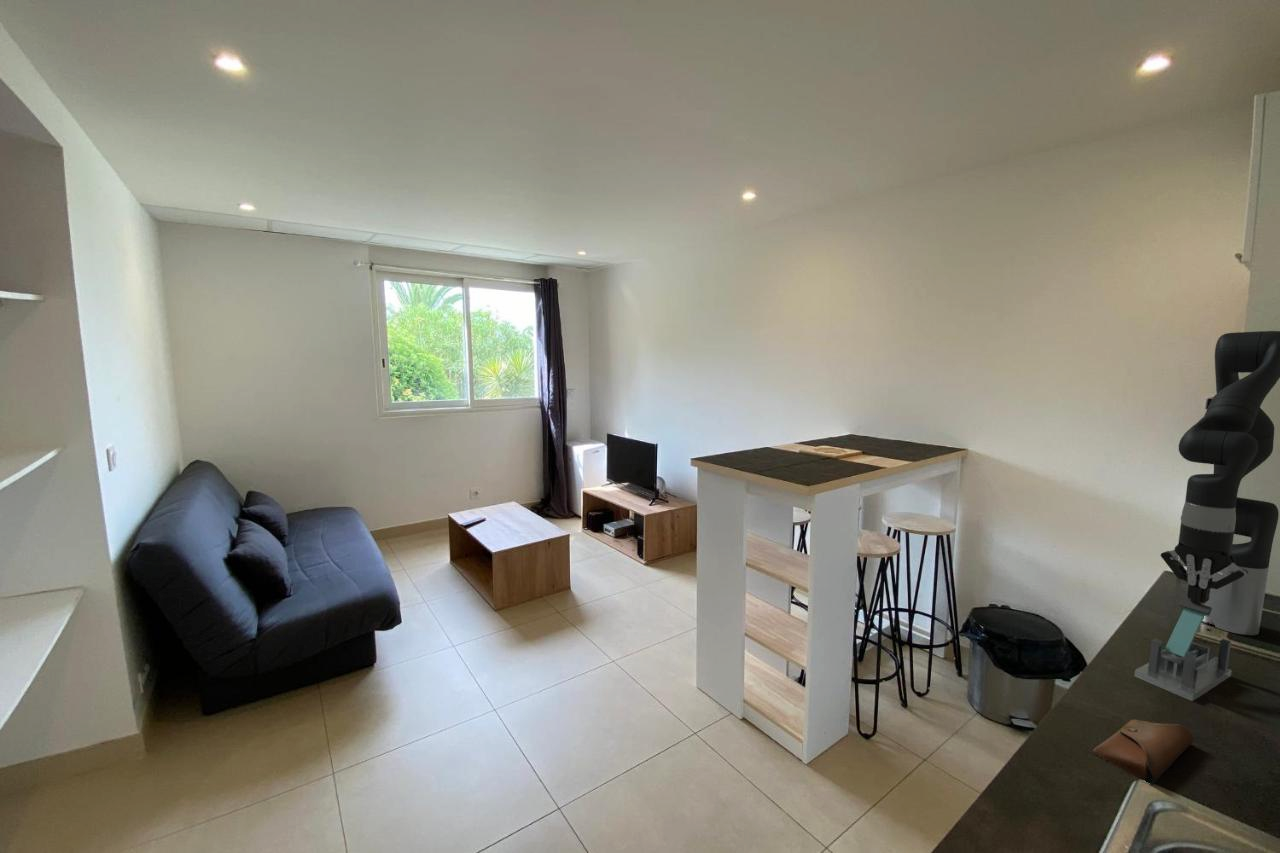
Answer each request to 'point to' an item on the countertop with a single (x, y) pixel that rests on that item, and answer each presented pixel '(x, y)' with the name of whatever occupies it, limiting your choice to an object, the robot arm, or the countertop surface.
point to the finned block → (1186, 670)
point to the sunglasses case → (1145, 748)
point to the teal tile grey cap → (1185, 630)
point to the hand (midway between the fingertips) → (1197, 602)
